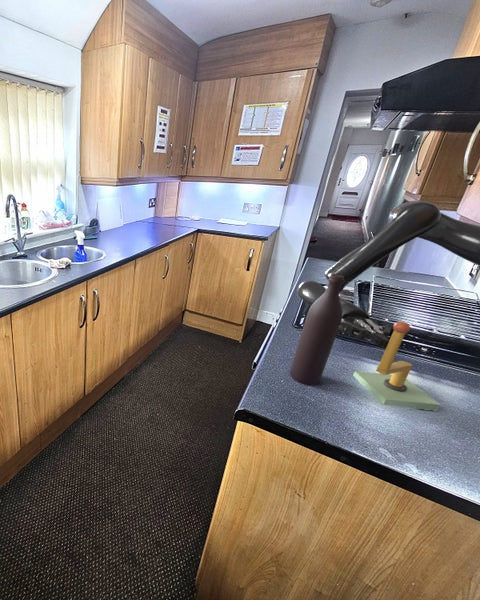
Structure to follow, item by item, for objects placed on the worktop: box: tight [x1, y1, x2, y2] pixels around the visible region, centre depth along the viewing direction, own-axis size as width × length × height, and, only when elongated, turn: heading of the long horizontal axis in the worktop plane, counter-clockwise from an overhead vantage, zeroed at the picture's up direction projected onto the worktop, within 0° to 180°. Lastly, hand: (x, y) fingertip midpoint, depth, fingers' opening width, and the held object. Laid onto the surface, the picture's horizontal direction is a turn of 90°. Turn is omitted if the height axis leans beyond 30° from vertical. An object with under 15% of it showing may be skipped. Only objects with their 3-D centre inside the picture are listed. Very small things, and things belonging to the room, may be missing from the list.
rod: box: [375, 321, 413, 387], centre depth 79 cm, size 11×3×19 cm, turn 107°
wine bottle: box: [289, 274, 344, 386], centre depth 84 cm, size 7×7×30 cm
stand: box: [352, 370, 441, 411], centre depth 85 cm, size 12×12×3 cm
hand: (387, 344), depth 78 cm, fingers closed
